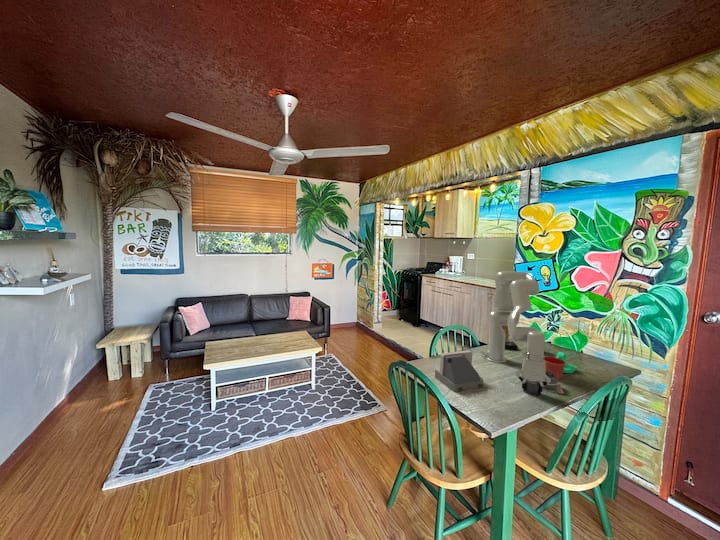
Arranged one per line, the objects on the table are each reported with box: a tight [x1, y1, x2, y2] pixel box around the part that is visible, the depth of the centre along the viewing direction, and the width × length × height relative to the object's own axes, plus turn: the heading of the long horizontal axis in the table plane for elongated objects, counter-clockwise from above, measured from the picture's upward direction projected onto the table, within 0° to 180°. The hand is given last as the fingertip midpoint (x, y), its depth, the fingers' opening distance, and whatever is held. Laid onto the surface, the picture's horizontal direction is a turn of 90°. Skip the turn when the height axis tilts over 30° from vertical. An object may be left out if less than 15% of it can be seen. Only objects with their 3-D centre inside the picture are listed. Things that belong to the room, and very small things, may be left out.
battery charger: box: [505, 340, 519, 351], centre depth 211 cm, size 13×10×4 cm
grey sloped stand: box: [434, 350, 484, 392], centre depth 157 cm, size 21×21×15 cm
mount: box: [555, 351, 578, 374], centre depth 174 cm, size 12×8×10 cm, turn 117°
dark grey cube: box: [524, 379, 540, 396], centre depth 147 cm, size 6×6×6 cm
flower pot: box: [543, 356, 565, 381], centre depth 165 cm, size 11×11×10 cm
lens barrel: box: [538, 371, 565, 395], centre depth 154 cm, size 13×11×6 cm
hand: (531, 391), depth 147 cm, fingers closed on dark grey cube, 5 cm apart
